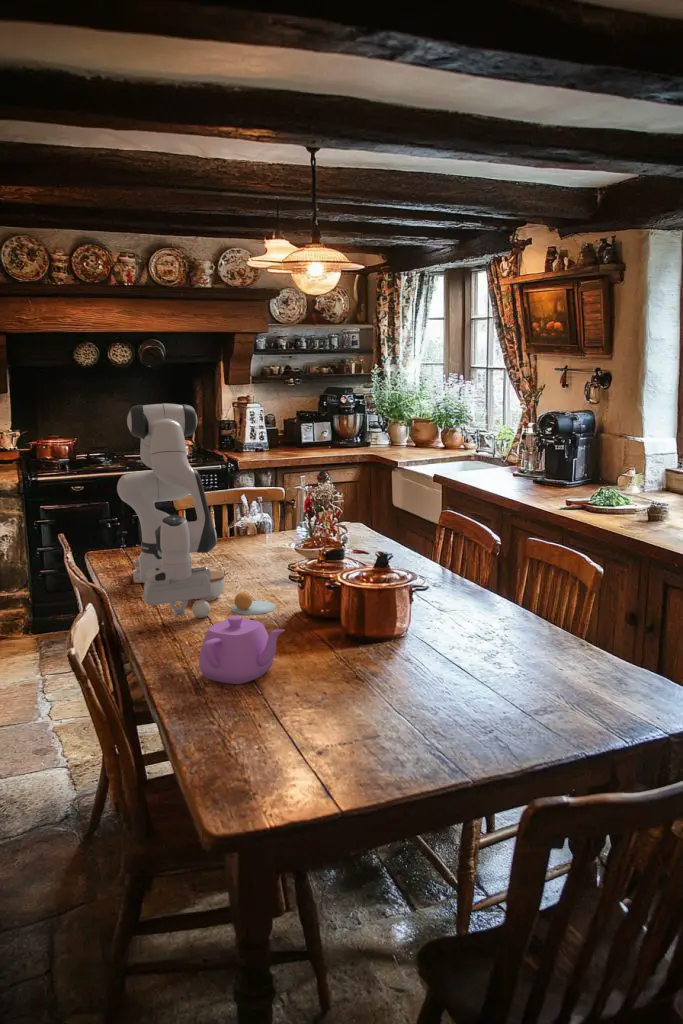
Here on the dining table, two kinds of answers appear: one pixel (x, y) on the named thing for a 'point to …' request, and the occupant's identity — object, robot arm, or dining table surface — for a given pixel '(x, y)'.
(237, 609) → the gray disc
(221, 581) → the lidded jar
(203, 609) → the cue ball
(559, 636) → the dining table surface
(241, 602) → the object ball
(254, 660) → the teapot
